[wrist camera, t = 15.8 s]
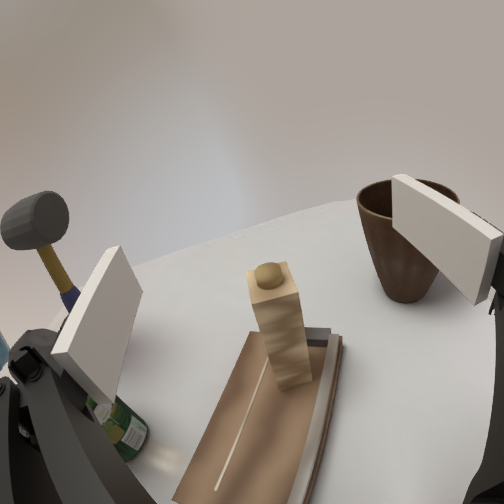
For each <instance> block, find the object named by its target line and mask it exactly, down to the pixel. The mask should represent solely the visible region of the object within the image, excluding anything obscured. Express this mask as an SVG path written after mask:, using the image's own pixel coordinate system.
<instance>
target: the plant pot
mask: <svg viewBox="0 0 504 504" xmlns="http://www.w3.org/2000/svg"><path fill="white" fill-rule="evenodd" d="M415 180H417V181H419V182H421V183H423V184H424V185H426V186H428V187H430V188H432V189H433V190H435V191H437V192H439V193H441V194H442V195H444V196H446V197H447V198H449V199H451V200H452V201H454V202H456V203H457V204H459V205H460V200H459V198H458V196H457V195H456V194H455V193H454V192H453V191H452V190H451V189H449V188H447V187H445V186H443V185H441V184H438V183H435V182H431V181H426V180H420V179H415ZM356 200H357V204H358V209H359V213H360V218H361V222H362V226H363V230H364V234H365V237H366V241H367V244H368V248H369V251H370V254H371V257H372V260H373V263H374V266H375V269H376V272H377V274H378V277H379V279H380V282H381V284H382V286H383V289H384V291H385V293H386V294H387V296H388V297H389V298H391V299H392V300H395V301H397V302H401V303H411V302H415V301H418V300H419V299H421V298H422V297H423V296H424V295H425V293H426V292H427V290H428V289H429V287H430V286H431V284H432V282H433V281H434V279H435V277H436V275H437V273H438V271H439V269H438V268H437V267H436V266H435V265H434V264H433V263H432V262H431V261H430V260H429V259H427V258H426V257H425V256H424V255H423V254H422V253H421V252H420V251H419V250H418V249H417V248H416V247H415V246H413V245H412V244H411V243H410V242H409V241H408V240H407V239H406V238H405V237H403V236H402V235H401V234H400V233H399V232H398V231H397V230H395V229H394V228H393V227H392V181H391V180H385V181H380V182H376V183H373V184H371V185H369V186H367V187H365V188H363V189H362V190H361V191H360V192H359V193H358V195H357V198H356Z"/></svg>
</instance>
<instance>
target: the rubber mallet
mask: <svg viewBox="0 0 504 504" xmlns="http://www.w3.org/2000/svg"><path fill="white" fill-rule="evenodd" d="M68 224H69V211H68V208H67V205H66V203H65V201H64V199H63V198H62V197H61V196H60V195H59V194H57V193H55V192H53V191H44V192H40V193H37V194H34V195H32V196H29V197H27V198H24V199H22V200H20V201H19V202H17V203H16V204H15V205H13V206H12V207H11V208H10V209H9V210H7V211H6V212H5V214H4V216H3V218H2V220H1V226H0V229H1V236H2V238H3V241H4V242H5V244H6V245H7V246H8V247H10V248H11V249H14V250H30V249H37V251H38V253H39V255H40V257H41V259H42V261H43V263H44V265H45V267H46V269H47V270H48V272H49V274H50V276H51V278H52V279H53V281H54V283H55V285H56V286H57V288H58V290H59V291H60V295H61V299H62V301H63V303H64V305H65V307H66V309H67V311H68V312H69V313H70V312H71V311H72V309H73V307H74V305H75V303H76V301H77V300H78V298H79V296H80V294H81V292H80V291H79V290H78V289H77V288H76V287H75V286H74V285H73V283H72V282H71V280H70V278H69V277H68V275H67V273H66V271H65V270H64V268H63V266H62V264H61V263H60V261H59V259H58V257H57V255H56V253H55V252H54V250H53V248H52V246H51V244H52V243H55V242H57V241H58V240H60V239H61V238H62V237H63V235H64V234H65V233H66V230H67V228H68Z"/></svg>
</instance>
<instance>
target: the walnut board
mask: <svg viewBox="0 0 504 504" xmlns="http://www.w3.org/2000/svg"><path fill="white" fill-rule="evenodd" d="M304 328H305V335H306V341H307V347H308V354H309V360H310V367H311V373H312V380H313V382H311V383H308V384H304V385H301V386H297V387H293V388H289V389H285V390H281V391H279V388H278V385H277V382H276V379H275V376H274V373H273V370H272V367H271V364H270V361H269V358H268V354H267V351H266V348H265V345H264V342H263V339H262V336H261V333H260V332H253V331H250V333H249V335H248V337H247V340H246V342H245V344H244V347H243V349H242V351H241V353H240V356H239V358H238V360H237V362H236V365H235V367H234V369H233V371H232V374H231V376H230V378H229V380H228V383H227V385H226V387H225V389H224V391H223V394H222V396H221V398H220V400H219V402H218V404H217V407H216V409H215V411H214V413H213V415H212V417H211V420H210V422H209V424H208V426H207V428H206V430H205V432H204V435H203V437H202V439H201V441H200V443H199V445H198V447H197V449H196V451H195V453H194V455H193V458H192V460H191V462H190V464H189V466H188V468H187V470H186V472H185V474H184V476H183V478H182V480H181V482H180V484H179V486H178V488H177V490H176V492H175V494H174V496H173V498H172V501H174V502H177V503H179V504H308V503H309V500H310V496H311V493H312V490H313V486H314V483H315V479H316V475H317V472H318V468H319V464H320V460H321V456H322V452H323V448H324V444H325V439H326V435H327V431H328V426H329V421H330V416H331V411H332V406H333V401H334V396H335V390H336V384H337V378H338V372H339V366H340V359H341V352H342V336H339V334H331V328H309V327H304Z"/></svg>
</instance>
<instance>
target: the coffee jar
mask: <svg viewBox="0 0 504 504" xmlns="http://www.w3.org/2000/svg"><path fill="white" fill-rule="evenodd" d="M56 335H57V332H54V331H51V330H48V329H36V330H27V331H26V332H25V333H24V334H23V335H22V336H21V338H20V339H19V340H18V341H17V342H16V343H15V344H14V346H13V347H12V348H11V349H10V351H9V359H8V362H9V360H10V358H11V356H12V355H13V353H14V352H15V351H16V350H17V349H18V348H19V347H21V346H22V345H24V344H27V343H30V344H33V346H34V347H35V348H36V349H37V351H38V352H39V353H40V354H41V355H42V357H43V358H44V359H46V357H47V355H48V352H49V350H50V348H51V346H52V344H53V342H54V339H55V338H57V336H56ZM9 372H10V374H11V375H12V377H13V378H14V379H15V381H16V382H17V383H18V384H19V383H21V381H20V380H19V379H18V378H17V377H16V376H15V375H14V374H13V373H12V371H11V370H10V369H9ZM86 403H87V404H88V405H89V406H90V407H91V408H92V410H93V412H94V414H95V415H96V417H97V419H98V421H99V422H100V424H101V426H102V428H103V429H104V431H105V433H106V434H107V436H108V437H109V439H110V441H111V442H112V444H113V445H114V447H115V448H116V450H117V451H118V453H119V454H120V456H121V457H122V459H123V460H124V461H127V460H129V459H131V458H133V457H134V456H135V455H136V454H137V453H138V452H139V450H140V449H141V447H142V446H143V443H144V441H145V438H146V435H147V426H146V423H145V422H144V420H143V419H141V418H140V417H139V416H138V415H137V414H136V413H135V412H134V411H133V410H132V409H131V408H129V407H128V406H127V405H126V404H125V403H124V402H123V401H122V400H121V399H120V398H119V397H118V396H117V395H116V397H115V402H114V403H113V404H97V403H96V402H95V401H94V400H93V399H92V398H91V397H90V396H89V395H88V397H87V401H86Z"/></svg>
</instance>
